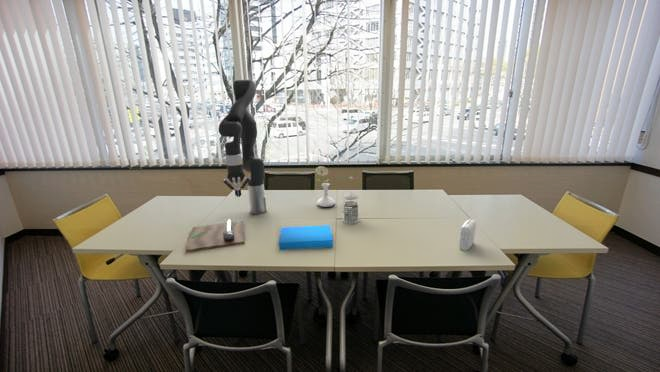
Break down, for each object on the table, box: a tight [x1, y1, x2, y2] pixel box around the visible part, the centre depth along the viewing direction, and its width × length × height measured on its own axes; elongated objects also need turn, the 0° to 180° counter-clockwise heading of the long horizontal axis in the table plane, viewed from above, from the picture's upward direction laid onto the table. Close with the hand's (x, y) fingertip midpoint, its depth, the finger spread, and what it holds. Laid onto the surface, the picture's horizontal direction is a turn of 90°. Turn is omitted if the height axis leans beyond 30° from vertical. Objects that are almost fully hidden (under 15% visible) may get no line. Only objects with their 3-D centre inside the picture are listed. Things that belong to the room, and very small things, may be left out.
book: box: [278, 224, 334, 251], centre depth 150 cm, size 17×4×25 cm
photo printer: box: [458, 219, 477, 251], centre depth 140 cm, size 10×4×12 cm, turn 140°
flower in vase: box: [315, 165, 336, 208], centre depth 190 cm, size 13×11×25 cm
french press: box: [341, 176, 361, 224], centre depth 168 cm, size 10×12×25 cm
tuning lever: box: [223, 219, 235, 242], centre depth 155 cm, size 20×5×3 cm, turn 16°
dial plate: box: [185, 220, 246, 254], centre depth 155 cm, size 26×25×2 cm
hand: (238, 196), depth 156 cm, fingers closed
